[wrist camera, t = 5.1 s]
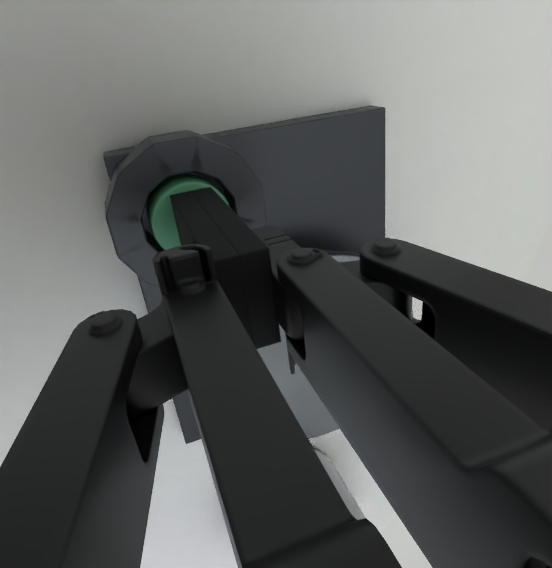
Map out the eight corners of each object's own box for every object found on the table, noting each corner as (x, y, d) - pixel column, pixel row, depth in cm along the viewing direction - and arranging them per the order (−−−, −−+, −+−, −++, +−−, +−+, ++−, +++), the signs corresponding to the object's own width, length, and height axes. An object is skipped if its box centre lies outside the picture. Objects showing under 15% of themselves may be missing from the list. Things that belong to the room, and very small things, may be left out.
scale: (87, 142, 17) (86, 155, 15) (371, 94, 21) (410, 98, 18) (174, 431, 25) (183, 473, 22) (374, 364, 28) (402, 393, 25)
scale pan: (192, 281, 18) (195, 289, 17) (406, 226, 21) (417, 232, 20) (231, 456, 23) (235, 468, 22) (402, 393, 25) (411, 402, 25)
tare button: (138, 181, 17) (142, 191, 16) (216, 166, 18) (225, 174, 16) (157, 254, 18) (162, 268, 17) (228, 237, 19) (237, 249, 18)
